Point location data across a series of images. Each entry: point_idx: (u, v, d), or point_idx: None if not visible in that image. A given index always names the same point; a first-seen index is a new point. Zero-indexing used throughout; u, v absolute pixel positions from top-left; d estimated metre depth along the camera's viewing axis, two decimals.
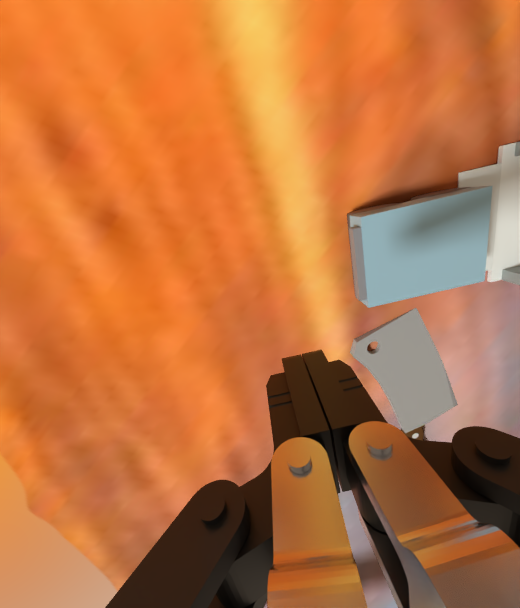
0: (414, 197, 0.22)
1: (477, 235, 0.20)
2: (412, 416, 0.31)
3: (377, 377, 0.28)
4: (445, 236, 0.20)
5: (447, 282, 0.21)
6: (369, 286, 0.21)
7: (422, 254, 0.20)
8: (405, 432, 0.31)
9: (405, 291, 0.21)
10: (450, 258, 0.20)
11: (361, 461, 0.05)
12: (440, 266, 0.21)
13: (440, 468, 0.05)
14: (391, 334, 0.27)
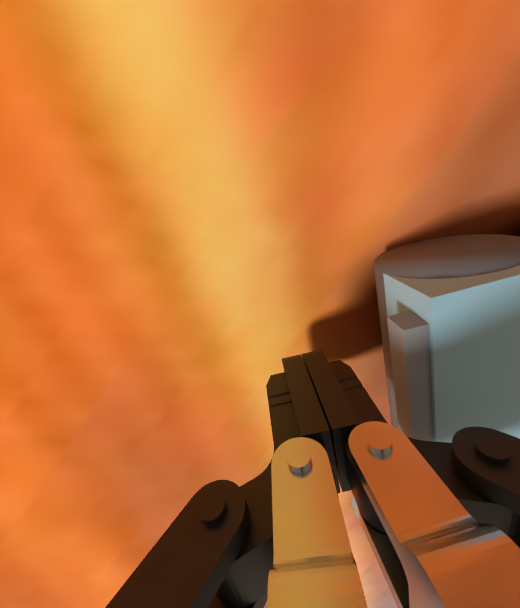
0: None
1: None
2: None
3: None
4: None
5: None
6: None
7: None
8: None
9: None
10: None
11: (361, 461, 0.05)
12: None
13: (440, 468, 0.05)
14: None
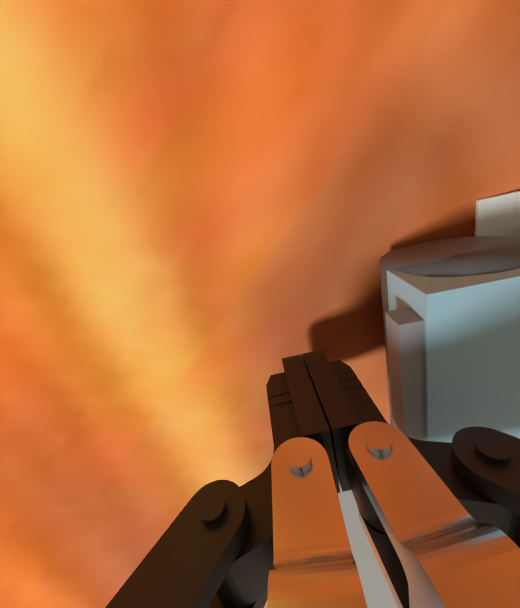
0: None
1: None
2: (392, 605, 0.18)
3: None
4: None
5: None
6: None
7: None
8: None
9: None
10: None
11: (361, 461, 0.05)
12: None
13: (440, 468, 0.05)
14: (346, 498, 0.14)
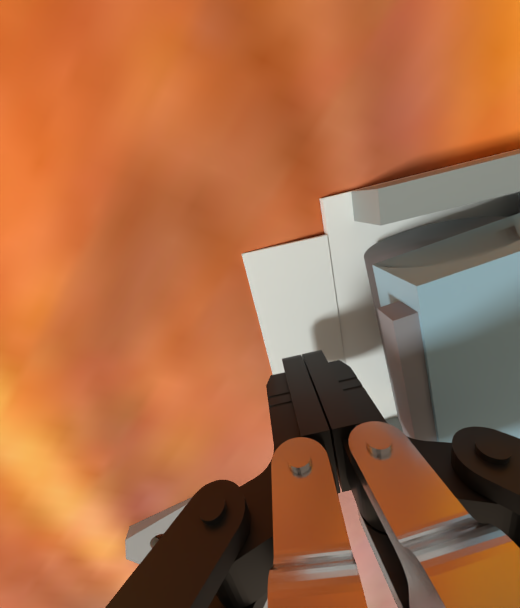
0: None
1: None
2: None
3: None
4: None
5: None
6: None
7: None
8: None
9: None
10: None
11: (361, 461, 0.05)
12: None
13: (440, 468, 0.05)
14: None
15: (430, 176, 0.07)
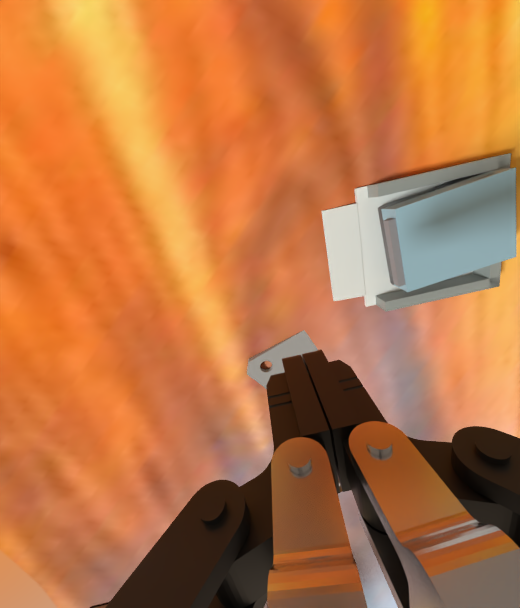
0: (439, 186, 0.24)
1: (505, 214, 0.21)
2: None
3: None
4: (475, 218, 0.21)
5: (480, 261, 0.22)
6: (407, 272, 0.22)
7: (454, 237, 0.22)
8: None
9: (441, 273, 0.23)
10: (481, 238, 0.22)
11: (361, 461, 0.05)
12: (472, 247, 0.22)
13: (440, 468, 0.05)
14: (282, 354, 0.29)
15: (395, 180, 0.22)
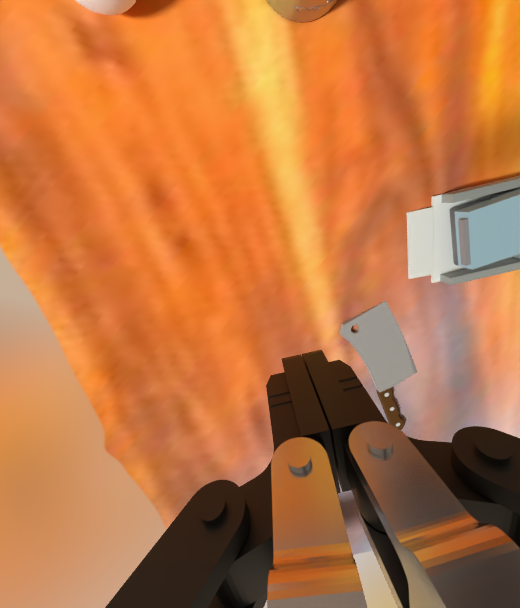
0: (493, 194, 0.33)
1: None
2: (384, 380, 0.43)
3: (358, 350, 0.41)
4: None
5: None
6: (473, 255, 0.32)
7: (507, 231, 0.31)
8: (379, 392, 0.44)
9: (496, 256, 0.32)
10: None
11: (361, 461, 0.05)
12: (518, 237, 0.32)
13: (440, 468, 0.05)
14: (367, 319, 0.39)
15: (465, 191, 0.32)
